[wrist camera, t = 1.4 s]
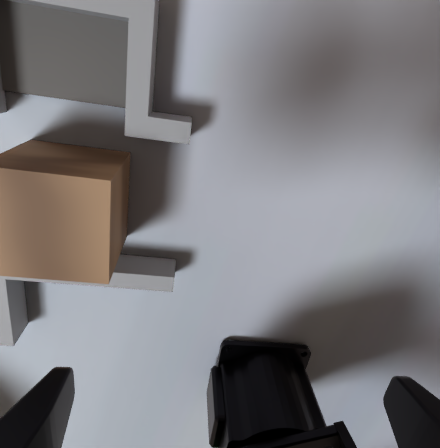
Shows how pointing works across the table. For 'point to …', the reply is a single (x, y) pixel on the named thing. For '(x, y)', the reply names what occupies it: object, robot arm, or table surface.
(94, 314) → the table surface
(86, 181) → the walnut block
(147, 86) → the trap lane
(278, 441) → the robot arm
